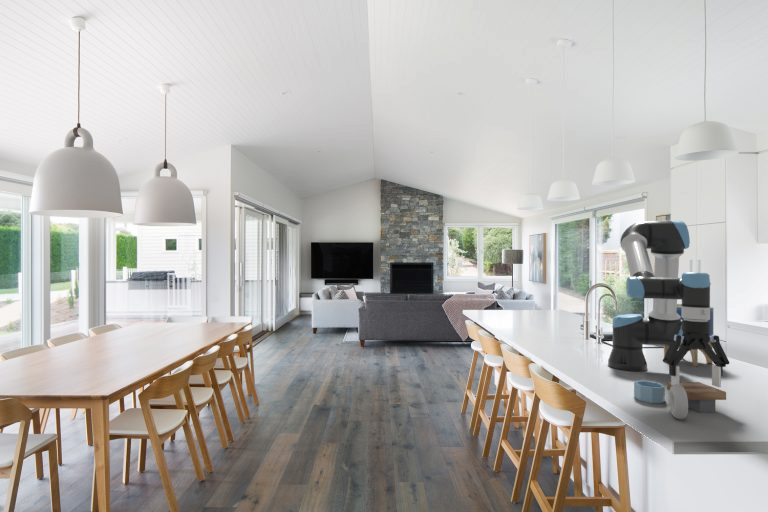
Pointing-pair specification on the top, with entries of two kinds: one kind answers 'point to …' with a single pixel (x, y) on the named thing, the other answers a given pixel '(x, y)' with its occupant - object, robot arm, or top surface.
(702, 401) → the block
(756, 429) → the top surface
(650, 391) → the bowl
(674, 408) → the donut
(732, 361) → the top surface
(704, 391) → the board
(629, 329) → the robot arm
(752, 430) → the top surface
